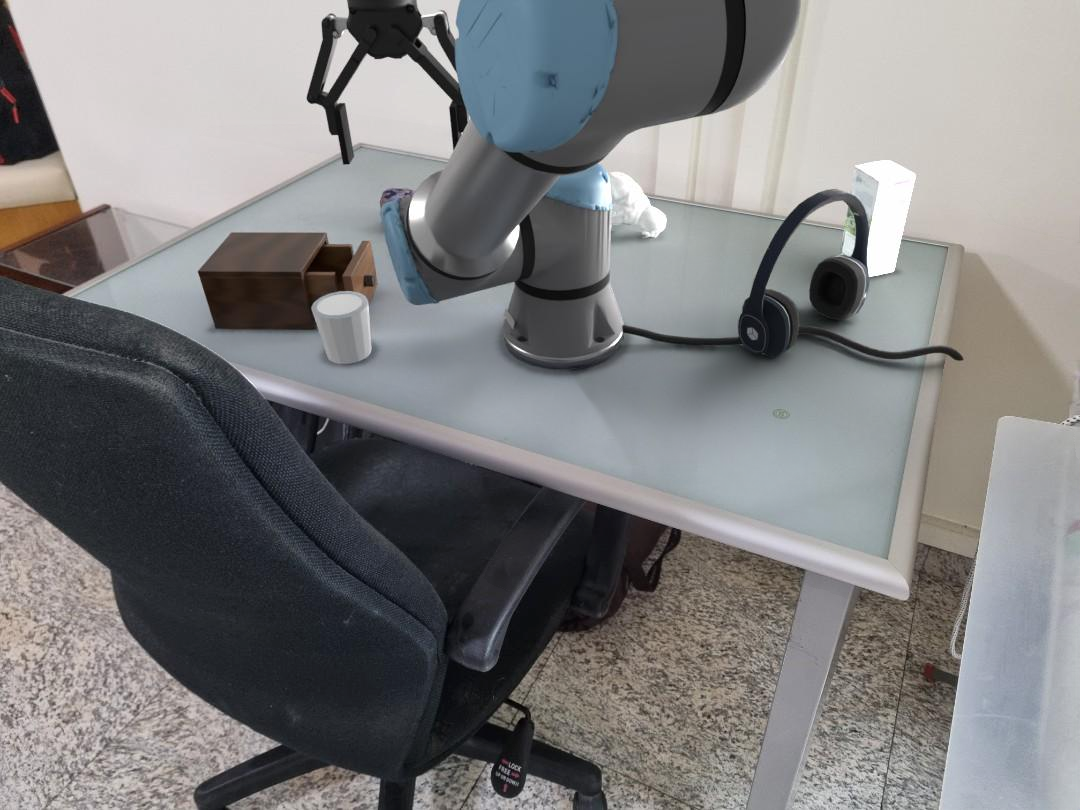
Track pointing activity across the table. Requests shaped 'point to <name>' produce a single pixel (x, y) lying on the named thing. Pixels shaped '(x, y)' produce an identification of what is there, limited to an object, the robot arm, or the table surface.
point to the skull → (395, 195)
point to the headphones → (832, 288)
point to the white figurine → (633, 206)
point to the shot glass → (344, 326)
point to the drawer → (341, 271)
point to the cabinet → (261, 280)
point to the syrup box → (880, 212)
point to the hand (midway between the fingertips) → (403, 159)
